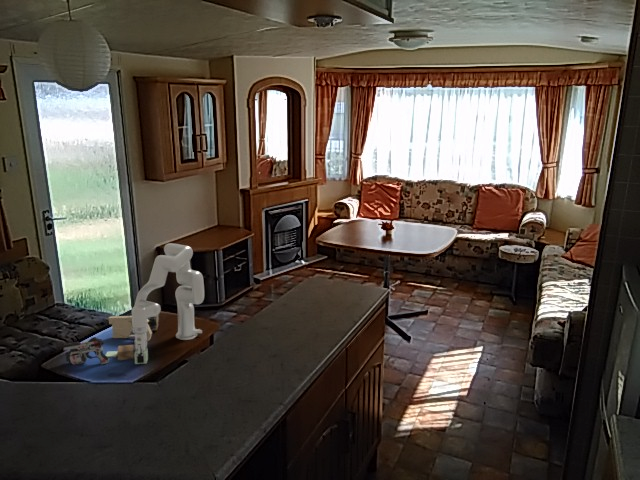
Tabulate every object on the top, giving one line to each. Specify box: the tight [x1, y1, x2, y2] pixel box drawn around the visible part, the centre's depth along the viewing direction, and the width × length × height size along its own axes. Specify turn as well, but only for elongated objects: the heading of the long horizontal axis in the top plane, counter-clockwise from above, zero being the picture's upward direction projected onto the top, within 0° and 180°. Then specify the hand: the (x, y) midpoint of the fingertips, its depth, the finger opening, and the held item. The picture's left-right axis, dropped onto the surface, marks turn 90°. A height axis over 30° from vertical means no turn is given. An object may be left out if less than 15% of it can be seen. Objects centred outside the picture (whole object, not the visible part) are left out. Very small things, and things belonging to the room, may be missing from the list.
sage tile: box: [104, 350, 118, 358], centre depth 289 cm, size 6×6×1 cm
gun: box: [108, 315, 153, 342], centre depth 309 cm, size 24×3×15 cm, turn 84°
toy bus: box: [147, 313, 160, 331], centre depth 330 cm, size 10×23×10 cm, turn 14°
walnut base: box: [117, 344, 135, 361], centre depth 288 cm, size 8×8×5 cm
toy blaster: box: [62, 336, 110, 365], centre depth 277 cm, size 4×21×15 cm, turn 95°
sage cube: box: [134, 347, 149, 365], centre depth 283 cm, size 6×6×6 cm
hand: (141, 359), depth 283 cm, fingers closed on sage cube, 6 cm apart
